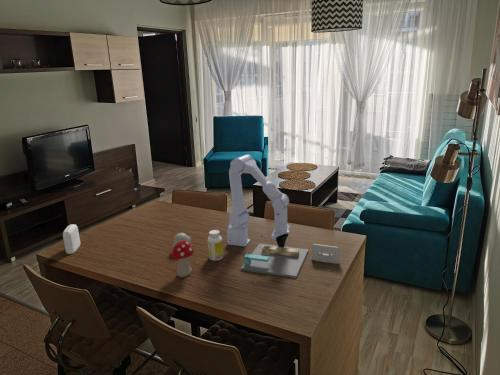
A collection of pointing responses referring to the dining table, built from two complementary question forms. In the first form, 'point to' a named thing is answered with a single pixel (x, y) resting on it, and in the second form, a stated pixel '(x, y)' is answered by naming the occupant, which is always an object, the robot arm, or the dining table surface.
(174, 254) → the decorative mushroom
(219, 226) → the dining table surface
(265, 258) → the plate
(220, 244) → the supplement bottle
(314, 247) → the cassette
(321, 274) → the dining table surface
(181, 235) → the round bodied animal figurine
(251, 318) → the dining table surface
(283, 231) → the robot arm
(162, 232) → the dining table surface
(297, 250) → the beech link
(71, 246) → the photo printer
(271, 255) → the light grey baseplate
